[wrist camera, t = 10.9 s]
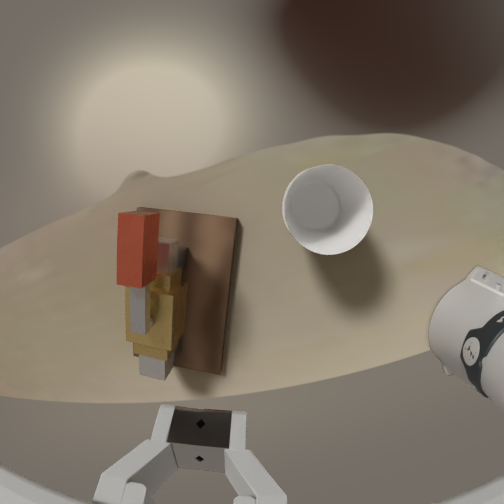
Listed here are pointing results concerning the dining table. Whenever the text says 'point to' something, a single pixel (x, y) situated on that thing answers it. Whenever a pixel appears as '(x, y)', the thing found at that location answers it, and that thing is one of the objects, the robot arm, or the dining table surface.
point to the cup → (327, 209)
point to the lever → (138, 263)
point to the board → (202, 283)
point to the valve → (162, 312)
